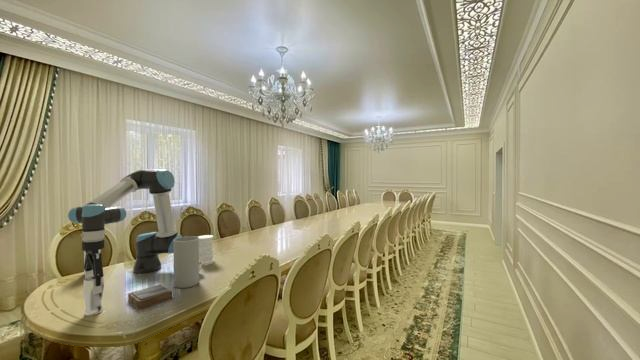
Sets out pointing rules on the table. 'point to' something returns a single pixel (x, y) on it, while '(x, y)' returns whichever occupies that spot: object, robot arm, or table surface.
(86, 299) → the beer glass
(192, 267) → the cylinder vase
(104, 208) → the robot arm
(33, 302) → the table surface
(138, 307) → the walnut stand
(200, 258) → the decorative container
